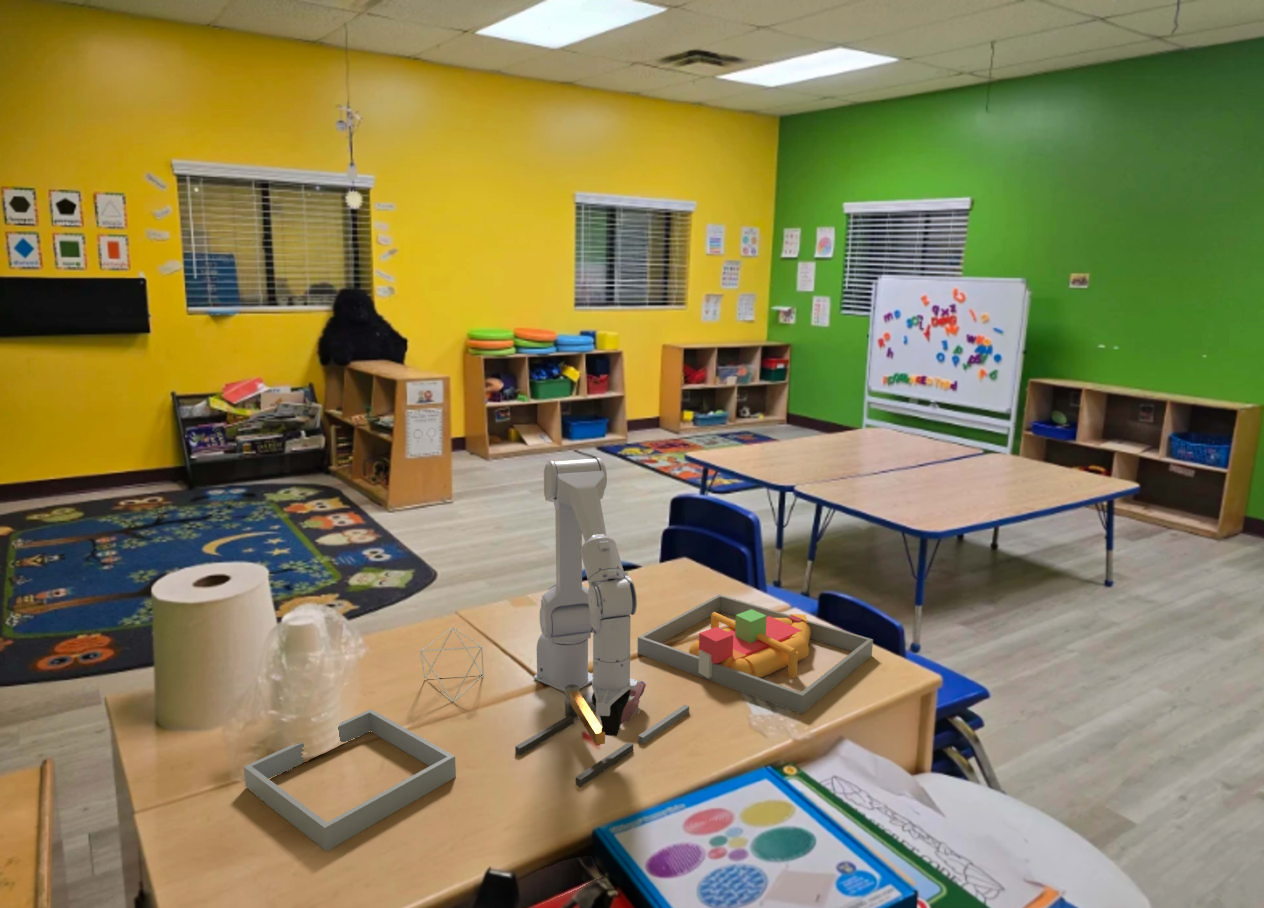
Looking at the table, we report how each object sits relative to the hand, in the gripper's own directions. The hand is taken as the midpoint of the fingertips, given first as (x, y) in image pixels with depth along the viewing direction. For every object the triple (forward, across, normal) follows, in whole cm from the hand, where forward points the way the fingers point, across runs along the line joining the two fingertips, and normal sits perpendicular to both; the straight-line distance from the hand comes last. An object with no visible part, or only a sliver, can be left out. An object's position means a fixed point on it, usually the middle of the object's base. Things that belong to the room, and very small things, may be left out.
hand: (611, 734), depth 132 cm
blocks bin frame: (+4, +40, -22) cm, 46 cm away
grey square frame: (+4, -13, +37) cm, 39 cm away
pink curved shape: (+4, +13, 0) cm, 14 cm away
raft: (+4, +40, -22) cm, 46 cm away
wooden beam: (+3, +5, +5) cm, 8 cm away
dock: (+4, +7, +2) cm, 8 cm away
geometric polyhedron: (+4, +18, +33) cm, 38 cm away
